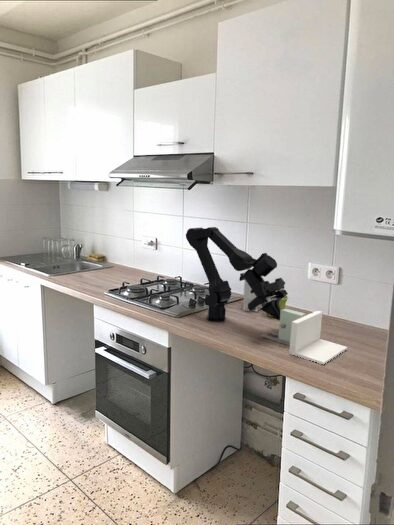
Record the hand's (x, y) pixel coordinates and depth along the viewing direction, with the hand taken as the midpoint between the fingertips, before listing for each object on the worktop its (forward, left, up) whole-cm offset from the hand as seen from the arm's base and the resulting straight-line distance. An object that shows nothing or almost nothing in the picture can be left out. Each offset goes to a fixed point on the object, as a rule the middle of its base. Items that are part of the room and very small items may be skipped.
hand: (281, 319), depth 147 cm
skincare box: (-4, +36, -7) cm, 37 cm away
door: (+3, -3, -7) cm, 8 cm away
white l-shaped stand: (+5, -5, -7) cm, 10 cm away
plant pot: (+5, +27, -7) cm, 28 cm away
